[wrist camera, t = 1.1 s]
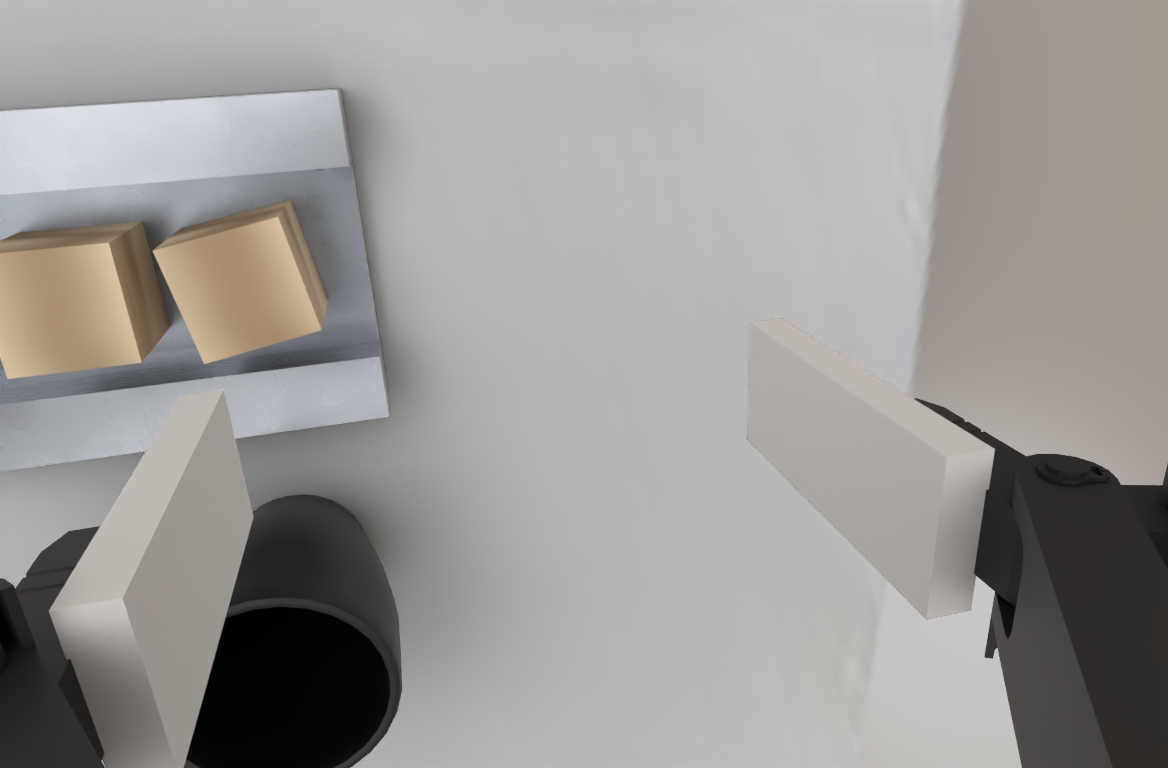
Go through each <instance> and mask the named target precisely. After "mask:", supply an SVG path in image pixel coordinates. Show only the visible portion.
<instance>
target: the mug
mask: <svg viewBox="0 0 1168 768" xmlns="http://www.w3.org/2000/svg"><path fill="white" fill-rule="evenodd" d="M253 516H254V517H253V521H252V524H251V528H250V532H249V535H248V539H247V542H246V546H245V550H244V553H243V557H242V560H241V564H240V567H239V571H238V575H237V578H236V582H235V585H234V589H233V593H232V596H231V600H230V603H229V607H228V610H227V614H226V618H225V621H224V625H223V628H222V632H221V635H220V639H219V643H218V646H217V650H216V653H215V657H214V661H213V664H212V668H211V671H210V675H209V678H208V682H207V686H206V689H205V693H204V696H203V700H202V704H201V707H200V711H199V714H198V718H197V721H196V725H195V729H194V732H193V736H192V739H191V743H190V747H189V750H188V754H187V757H186V761H185V764H184V768H350V767H352V766H353V765H355V764H356V763H357V762H358V761H360V760H361V759H362V758H363V757H365V756H366V755H367V754H369V753H370V752H371V751H372V750H373V749H374V747H375V746H376V745H377V744H378V743H379V741H380V740H381V739H382V738H383V737H384V735H385V734H386V733H387V731H388V729H389V727H390V725H391V723H392V721H393V719H394V717H395V715H396V713H397V711H398V706H399V702H400V697H401V692H402V675H401V651H400V636H399V620H398V613H397V609H396V604H395V600H394V597H393V594H392V591H391V588H390V585H389V582H388V580H387V577H386V574H385V571H384V568H383V566H382V564H381V562H380V560H379V557H378V555H377V554H376V552H375V550H374V548H373V547H372V545H371V544H370V542H369V541H368V539H367V537H366V536H365V534H364V533H363V530H362V527H361V526H360V524H359V523H358V521H357V520H356V518H355V517H354V516H353V515H352V514H351V513H350V512H349V511H347V510H346V509H345V508H344V507H342V506H340V505H339V504H337V503H335V502H333V501H331V500H328V499H324V498H321V497H318V496H309V495H296V496H287V497H283V498H279V499H276V500H273V501H271V502H269V503H267V504H265V505H263V506H261V507H259V508H258V509H257V510H256V511H254V512H253Z"/></svg>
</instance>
